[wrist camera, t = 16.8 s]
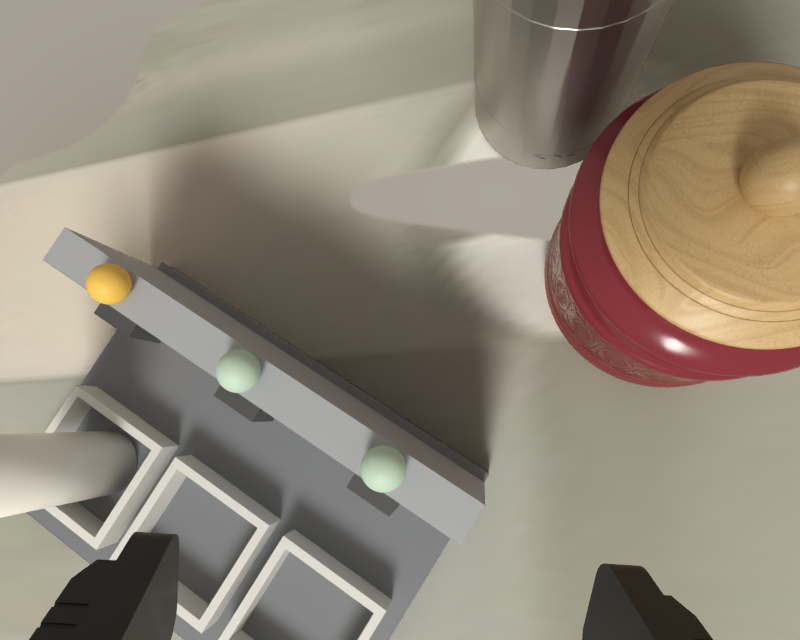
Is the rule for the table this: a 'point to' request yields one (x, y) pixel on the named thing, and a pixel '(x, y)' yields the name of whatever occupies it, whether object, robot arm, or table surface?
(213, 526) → the breaker board
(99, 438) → the plug
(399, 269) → the table surface
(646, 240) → the canister
